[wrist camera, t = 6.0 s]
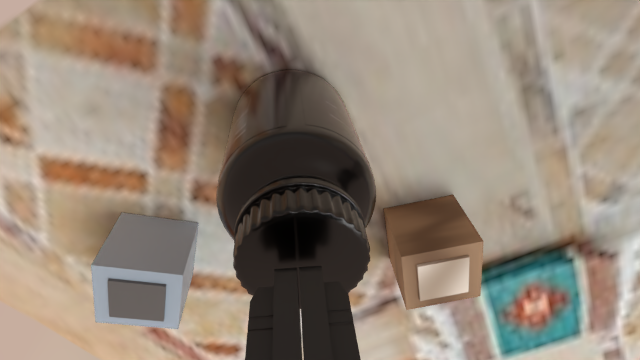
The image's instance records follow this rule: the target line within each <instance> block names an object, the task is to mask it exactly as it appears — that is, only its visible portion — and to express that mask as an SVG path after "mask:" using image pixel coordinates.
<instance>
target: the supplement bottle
mask: <svg viewBox="0 0 640 360" xmlns="http://www.w3.org/2000/svg"><path fill="white" fill-rule="evenodd" d="M375 202H376V186H375V180H374V177H373V173H372V170H371V167H370V165H369V162H368V160H367V157H366V155H365V152H364V150H363V147H362V145H361V143H360V140H359V138H358V135H357V133H356V130H355V128H354V125H353V123H352V121H351V118H350V116H349V113H348V111H347V109H346V106H345V104H344V102H343V100H342V98H341V97H340V95H339V94H338V93H337V91H336V90H335V89H334V88H333V87H332V86H331V85H330V84H329V83H328V82H326V81H325V80H324V79H322V78H320V77H318V76H316V75H314V74H311V73H308V72H305V71H299V70H283V71H277V72H273V73H270V74H268V75H265V76H263V77H261V78H260V79H258V80H257V81H255V82H254V83H253V84H252V85H250V86H249V87H248V88H247V90H246V91H245V92H244V93H243V95H242V96H241V98H240V100H239V102H238V104H237V106H236V109H235V113H234V116H233V120H232V124H231V128H230V133H229V137H228V141H227V145H226V150H225V154H224V158H223V163H222V167H221V171H220V176H219V180H218V186H217V207H218V212H219V216H220V218H221V221H222V223H223V225H224V227H225V229H226V230H227V232H228V233H229V235H230V236H231V237H232V239H233V240H234V243H235V245H234V253H233V256H234V263H233V266H234V269H235V270H236V277H237V278H238V279H239V280H240V281H241V286H242V287H244V288H245V289H247V291H248V293H249V294H251V295H253V296H254V294H255V292H256V290H257V289H258V287H272V286H274V269H283V268H297V275H298V291H299V307H300V309H301V295H300V276H299V267H309V266H322V273H323V281H324V282H337V281H339V282H340V283H341V285H342V286H343V287H344V289H345V290H346V292H347V293H349V292H350V290H352V289H353V288H355V287H356V286H357V284H358V282H360V281H361V280H362V279H363V275H364V273H365V272H366V271H367V270H368V266H367V265H368V263H369V261H370V255H369V252H370V246H369V242H368V239H367V235H366V232H365V229H366V227H367V225H368V223H369V221H370V219H371V217H372V214H373V211H374V207H375Z"/></svg>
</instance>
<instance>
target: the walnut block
mask: <svg viewBox="0 0 640 360" xmlns="http://www.w3.org/2000/svg"><path fill="white" fill-rule="evenodd" d="M384 216H385V224H386V232H387V240H388V248H389V256H390V261H391V264H392V267H393V270H394V273H395V276H396V279H397V282H398V285H399V288H400V291H401V294H402V297H403V300H404V303H405V306H406V310H409V309H414V308H420V307H425V306H430V305H435V304H441V303H446V302H451V301H457V300H462V299H467V298H472V297H478V296H480V292H481V274H482V257H483V240H482V238H481V237H480V235H479V234H478V232H477V231H476V229H475V228H474V226H473V224H472V223H471V221H470V220H469V218H468V217H467V215H466V214H465V212H464V211H463V209H462V208H461V206H460V204H459V203H458V201H457V200H456V198H455V197H454V195H449V196H444V197H439V198H434V199H429V200H424V201H419V202H414V203H409V204H404V205H399V206H394V207H389V208H384Z"/></svg>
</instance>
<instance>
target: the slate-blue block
mask: <svg viewBox="0 0 640 360" xmlns="http://www.w3.org/2000/svg"><path fill="white" fill-rule="evenodd" d="M197 233H198V223H195V222H188V221H181V220H174V219H166V218H159V217H152V216H145V215H138V214H130V213H123V212H122V213H121V215H120V216H119V218H118V220H117V222H116V223H115V225H114V227H113V228H112V230H111V232H110V234H109V235H108V237H107V239H106V240H105V242H104V244H103V246H102V247H101V249H100V251H99V252H98V254H97V256H96V258H95V259H94V261H93V263H92V264H91V270H92V283H93V295H94V308H95V321H96V322H99V323H111V324H123V325H135V326H147V327H159V328H171V329H178V328H179V324H180V321H181V317H182V313H183V309H184V306H185V302H186V298H187V294H188V291H189V287H190V283H191V279H192V276H193V269H194V260H195V251H196V242H197Z"/></svg>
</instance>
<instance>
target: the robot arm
mask: <svg viewBox="0 0 640 360" xmlns="http://www.w3.org/2000/svg"><path fill="white" fill-rule="evenodd" d="M299 276H300V295H301V314H302V333H303V352H304V360H360V355H359V349H358V344H357V339H356V333H355V328H354V324H353V317H352V312H351V306H350V301H349V296H348V293H347V292H346V290H345V289H344V287H343V286H342V285H341V283H340V282H339V281H337V282H324V281H323V273H322V266H309V267H299ZM245 360H302V347H301V326H300V307H299V291H298V275H297V268H283V269H274V286H272V287H258V289H257V290H256V292H255V294H254V296H253V297H252V299H251V301H250V310H249V321H248V333H247V345H246V357H245Z"/></svg>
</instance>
